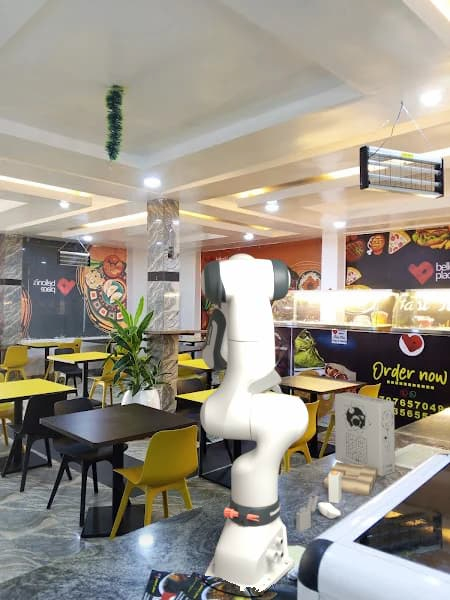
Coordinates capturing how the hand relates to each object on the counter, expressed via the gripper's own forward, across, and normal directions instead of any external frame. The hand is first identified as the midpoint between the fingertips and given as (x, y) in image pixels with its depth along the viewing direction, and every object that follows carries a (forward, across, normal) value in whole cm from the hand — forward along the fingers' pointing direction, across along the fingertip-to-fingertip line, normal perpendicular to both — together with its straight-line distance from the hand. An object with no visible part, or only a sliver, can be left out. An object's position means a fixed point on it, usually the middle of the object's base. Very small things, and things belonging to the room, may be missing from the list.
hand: (275, 402), depth 152 cm
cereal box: (+35, +34, +8) cm, 49 cm away
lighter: (+32, -20, +5) cm, 38 cm away
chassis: (+34, +16, +6) cm, 38 cm away
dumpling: (+35, -12, +3) cm, 37 cm away
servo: (+34, 0, +5) cm, 34 cm away
